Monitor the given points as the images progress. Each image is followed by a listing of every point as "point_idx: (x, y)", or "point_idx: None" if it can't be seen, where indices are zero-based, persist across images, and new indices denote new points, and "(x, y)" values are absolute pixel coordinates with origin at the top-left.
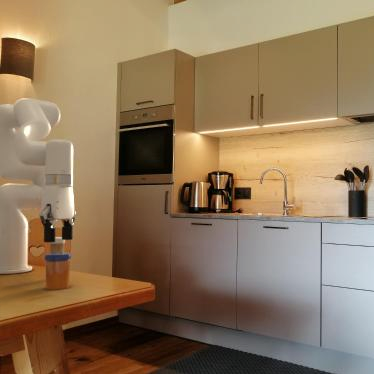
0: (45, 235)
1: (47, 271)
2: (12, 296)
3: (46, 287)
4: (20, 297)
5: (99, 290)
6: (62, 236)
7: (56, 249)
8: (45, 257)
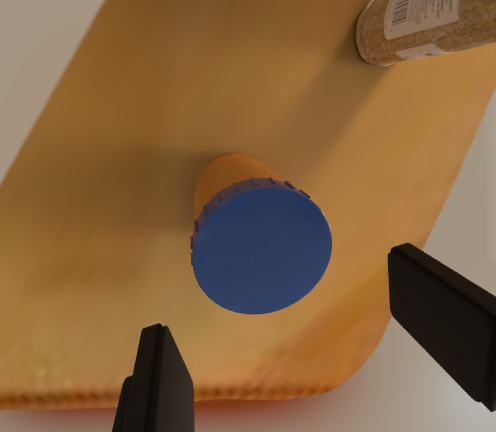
0: (120, 408)
1: (195, 211)
2: (41, 177)
3: (195, 184)
4: (51, 218)
5: (250, 332)
6: (406, 267)
7: (488, 14)
8: (200, 219)
